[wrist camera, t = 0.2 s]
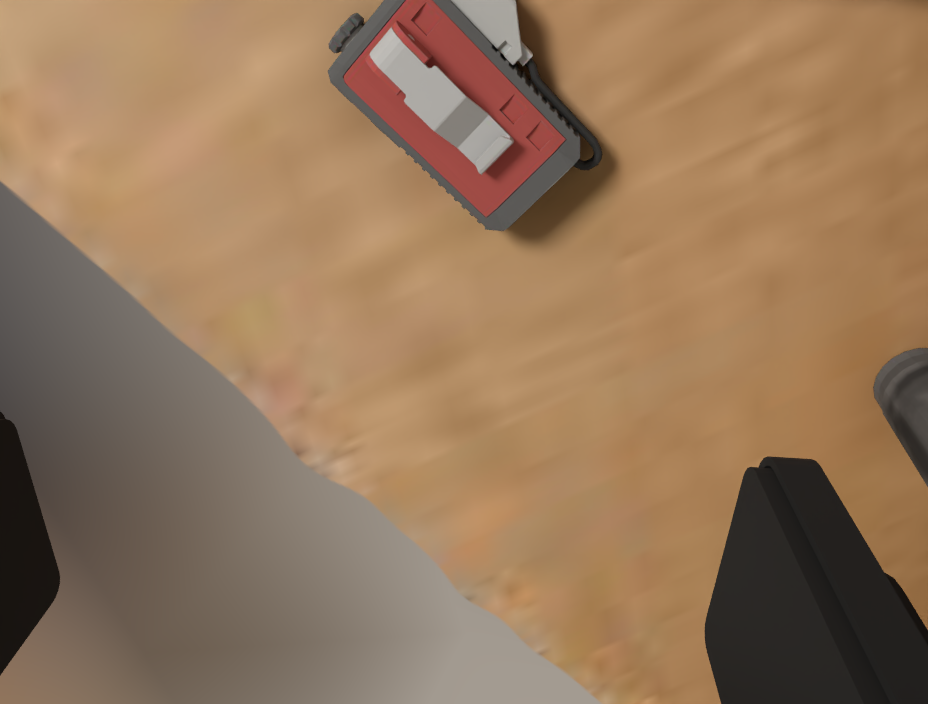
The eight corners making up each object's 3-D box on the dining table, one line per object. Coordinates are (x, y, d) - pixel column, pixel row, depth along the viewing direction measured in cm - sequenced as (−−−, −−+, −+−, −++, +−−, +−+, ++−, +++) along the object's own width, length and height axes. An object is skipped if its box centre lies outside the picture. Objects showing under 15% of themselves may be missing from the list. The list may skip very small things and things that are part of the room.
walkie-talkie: (633, 120, 37) (324, -218, 32) (646, 139, 33) (296, -242, 28) (509, 238, 41) (209, -48, 35) (507, 268, 37) (170, -49, 31)
